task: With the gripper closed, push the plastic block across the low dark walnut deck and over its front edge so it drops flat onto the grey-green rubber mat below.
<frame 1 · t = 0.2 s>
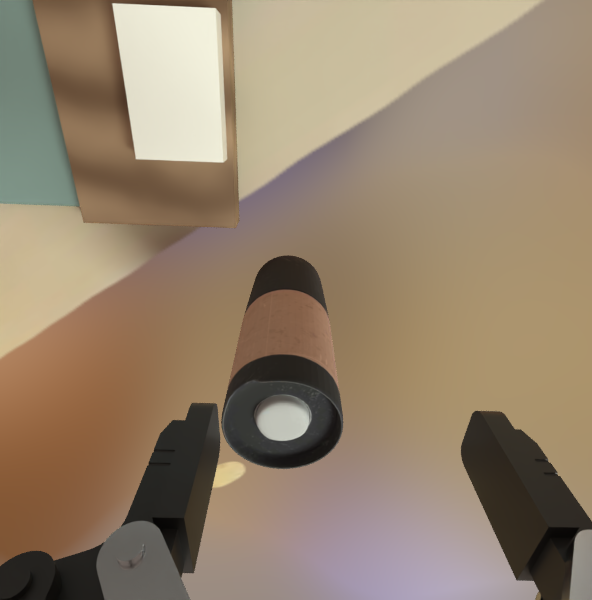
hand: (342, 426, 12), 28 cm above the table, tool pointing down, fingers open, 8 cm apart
plastic block: (176, 90, 29), point 3 cm above the table, touching walnut deck
travel mug: (287, 285, 40), on the table
walnut deck: (152, 90, 32), on the table
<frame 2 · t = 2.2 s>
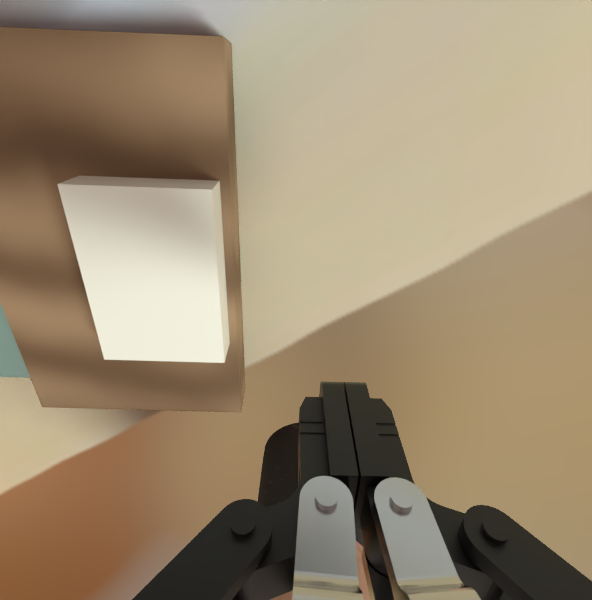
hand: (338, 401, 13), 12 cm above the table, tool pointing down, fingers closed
plastic block: (157, 276, 20), point 3 cm above the table, touching walnut deck
travel mug: (305, 449, 32), on the table
walnut deck: (127, 251, 23), on the table
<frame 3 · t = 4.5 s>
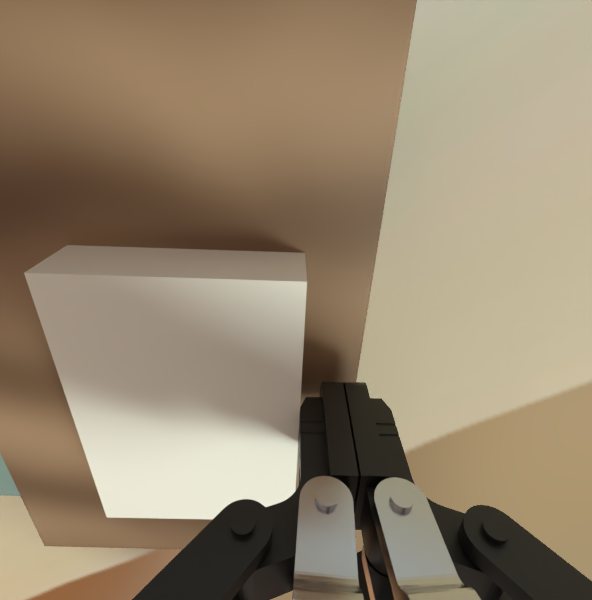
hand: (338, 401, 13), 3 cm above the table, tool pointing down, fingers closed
plastic block: (194, 400, 13), point 4 cm above the table, touching gripper, walnut deck
travel mug: (391, 569, 25), on the table
walnut deck: (179, 336, 16), on the table
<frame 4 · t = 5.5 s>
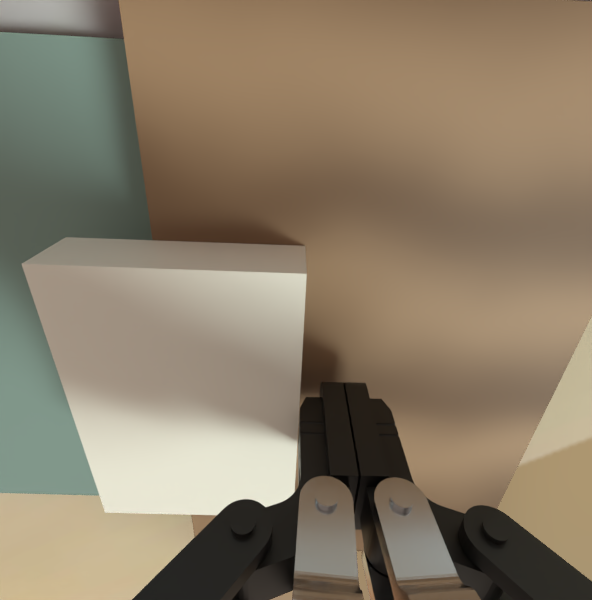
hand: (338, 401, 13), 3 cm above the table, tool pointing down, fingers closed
plastic block: (193, 394, 12), point 4 cm above the table, touching gripper
rubber mat: (17, 327, 15), on the table
walnut deck: (356, 339, 16), on the table
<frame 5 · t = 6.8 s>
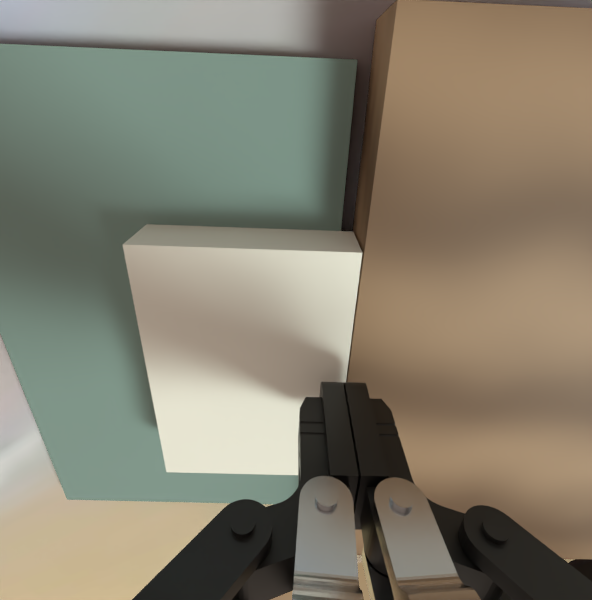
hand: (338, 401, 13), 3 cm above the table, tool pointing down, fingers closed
plastic block: (250, 363, 14), point 2 cm above the table, touching rubber mat
rubber mat: (172, 338, 16), on the table
walnut deck: (504, 348, 16), on the table
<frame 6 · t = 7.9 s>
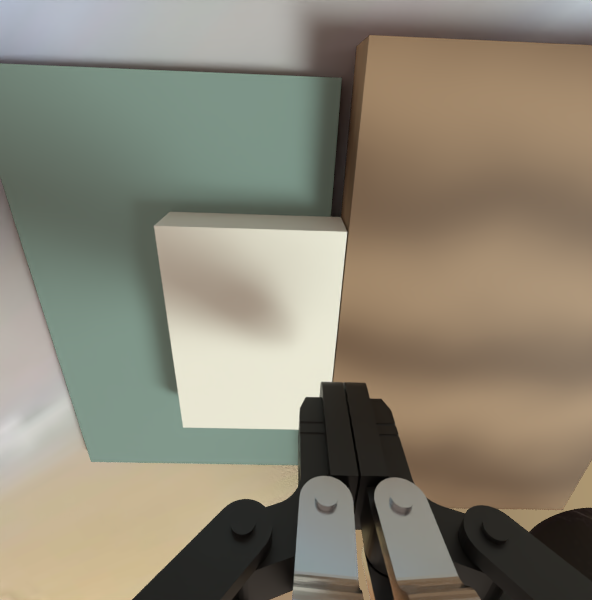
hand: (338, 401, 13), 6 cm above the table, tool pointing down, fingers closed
plastic block: (255, 330, 17), point 2 cm above the table, touching rubber mat
rubber mat: (187, 312, 18), on the table
travel mug: (570, 534, 27), on the table
walnut deck: (472, 319, 18), on the table
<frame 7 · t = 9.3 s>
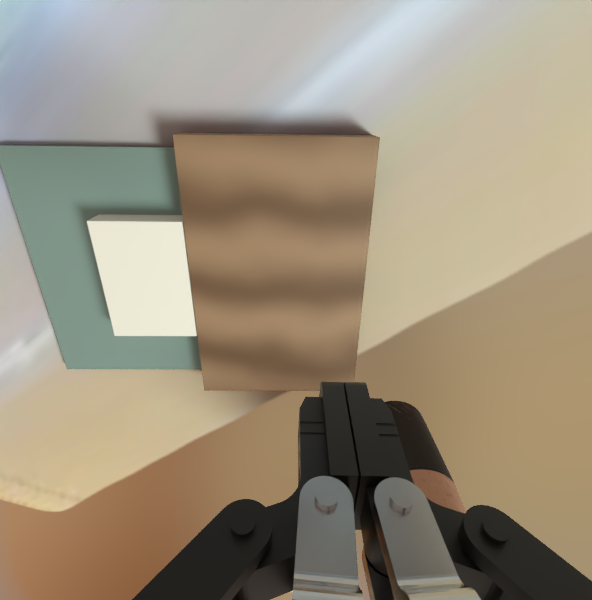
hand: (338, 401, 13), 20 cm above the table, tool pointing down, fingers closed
plastic block: (150, 278, 31), point 2 cm above the table, touching rubber mat
rubber mat: (116, 271, 32), on the table
travel mug: (389, 424, 41), on the table
walnut deck: (278, 272, 32), on the table
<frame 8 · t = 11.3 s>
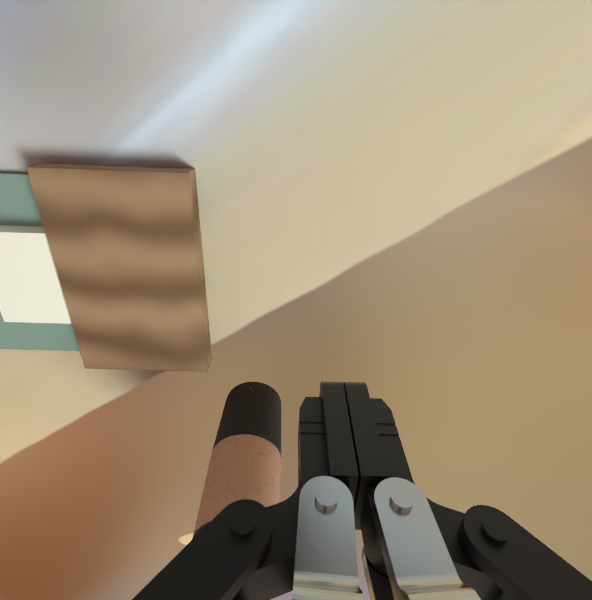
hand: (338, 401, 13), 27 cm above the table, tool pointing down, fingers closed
plastic block: (29, 276, 38), point 2 cm above the table, touching rubber mat
rubber mat: (6, 269, 40), on the table
travel mug: (254, 401, 49), on the table
walnut deck: (138, 273, 40), on the table
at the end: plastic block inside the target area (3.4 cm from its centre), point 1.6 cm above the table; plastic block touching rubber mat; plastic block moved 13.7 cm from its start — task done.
